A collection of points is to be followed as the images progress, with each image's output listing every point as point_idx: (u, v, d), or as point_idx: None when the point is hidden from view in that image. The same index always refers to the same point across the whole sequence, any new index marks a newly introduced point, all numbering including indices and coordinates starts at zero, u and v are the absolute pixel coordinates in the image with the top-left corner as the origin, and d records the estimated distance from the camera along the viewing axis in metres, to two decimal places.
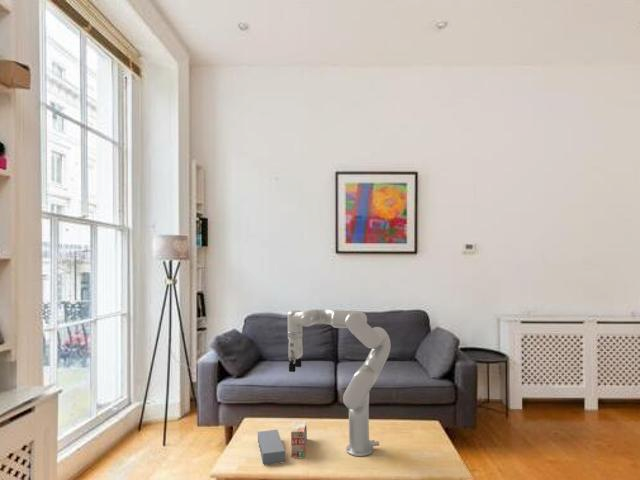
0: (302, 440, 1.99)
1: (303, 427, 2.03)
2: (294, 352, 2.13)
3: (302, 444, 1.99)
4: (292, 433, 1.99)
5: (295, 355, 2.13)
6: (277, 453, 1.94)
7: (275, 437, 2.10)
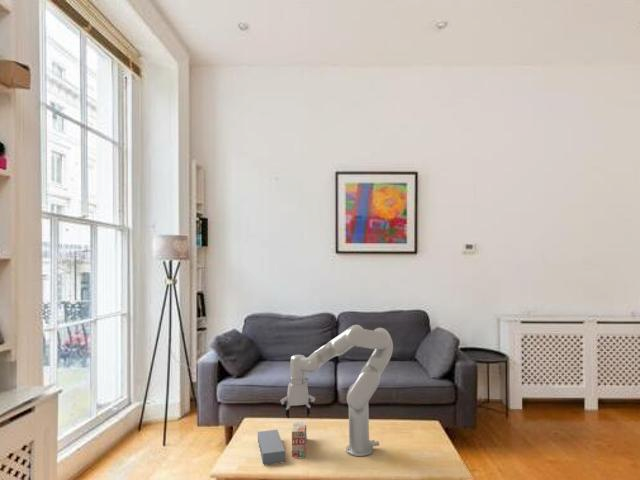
0: (303, 440, 1.99)
1: (303, 427, 2.04)
2: None
3: (303, 444, 1.99)
4: (293, 433, 1.99)
5: None
6: (277, 453, 1.94)
7: (275, 437, 2.10)
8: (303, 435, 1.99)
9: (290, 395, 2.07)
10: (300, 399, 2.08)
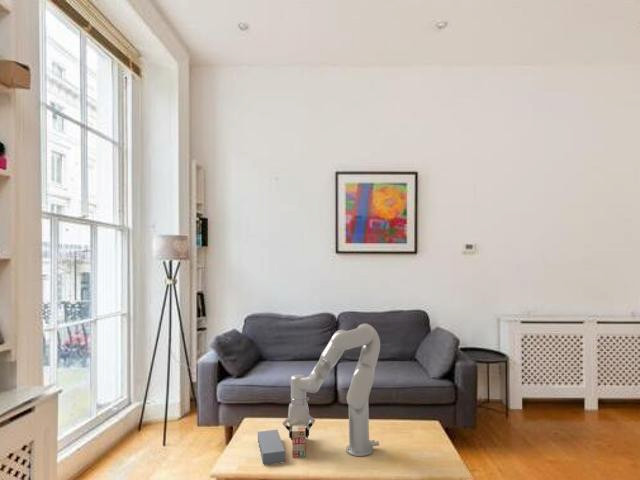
0: (303, 439, 1.99)
1: (304, 426, 2.04)
2: None
3: (303, 443, 1.99)
4: (293, 432, 1.99)
5: None
6: (277, 453, 1.94)
7: (275, 437, 2.10)
8: (303, 434, 1.99)
9: (291, 416, 2.07)
10: (301, 419, 2.08)
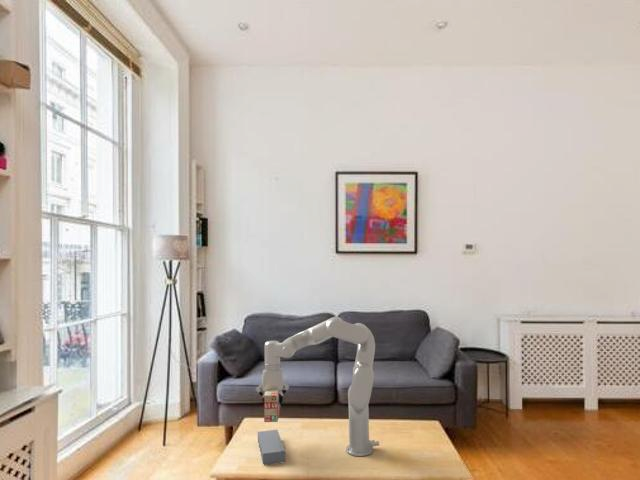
0: (275, 404, 1.97)
1: (276, 392, 2.02)
2: None
3: (275, 408, 1.97)
4: (265, 397, 1.97)
5: None
6: (277, 453, 1.94)
7: (275, 437, 2.10)
8: (276, 399, 1.98)
9: (264, 381, 2.05)
10: (274, 385, 2.06)
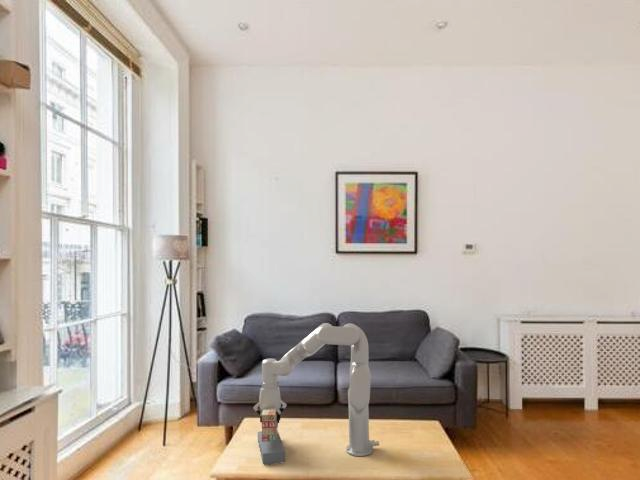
0: (273, 423, 1.97)
1: (274, 410, 2.01)
2: None
3: (273, 427, 1.97)
4: (263, 416, 1.97)
5: None
6: (277, 453, 1.94)
7: None
8: (273, 418, 1.97)
9: (262, 400, 2.04)
10: (272, 404, 2.05)
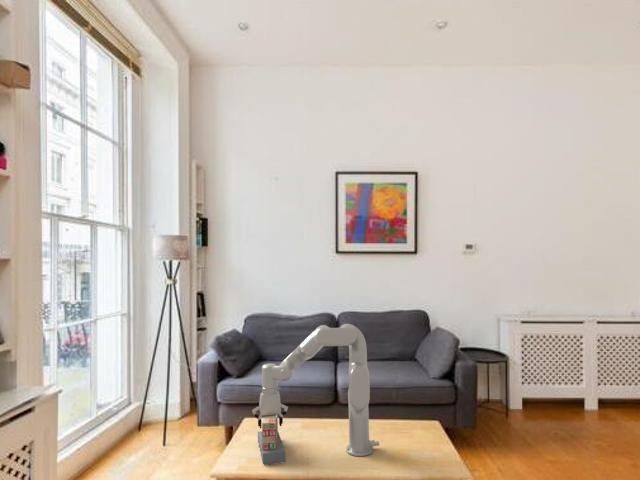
0: (273, 431, 1.97)
1: (274, 418, 2.01)
2: None
3: (273, 435, 1.96)
4: (263, 425, 1.96)
5: None
6: (277, 453, 1.94)
7: None
8: (274, 427, 1.97)
9: (262, 405, 2.04)
10: (272, 409, 2.05)
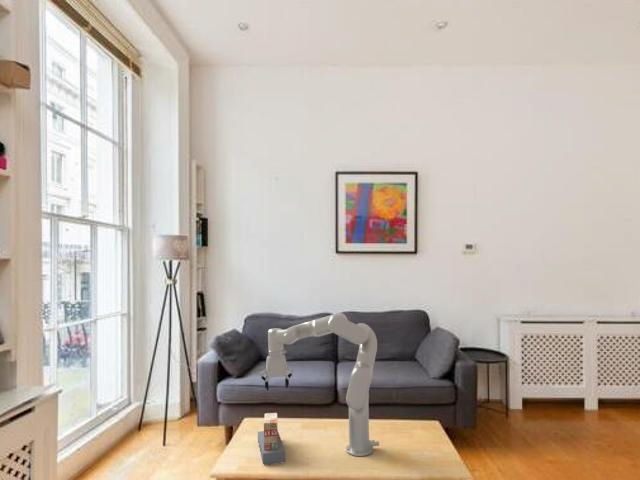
0: (275, 431, 1.97)
1: (275, 418, 2.01)
2: None
3: (275, 435, 1.97)
4: (265, 425, 1.96)
5: None
6: (277, 453, 1.94)
7: None
8: (275, 426, 1.97)
9: (269, 367, 2.11)
10: (279, 371, 2.12)
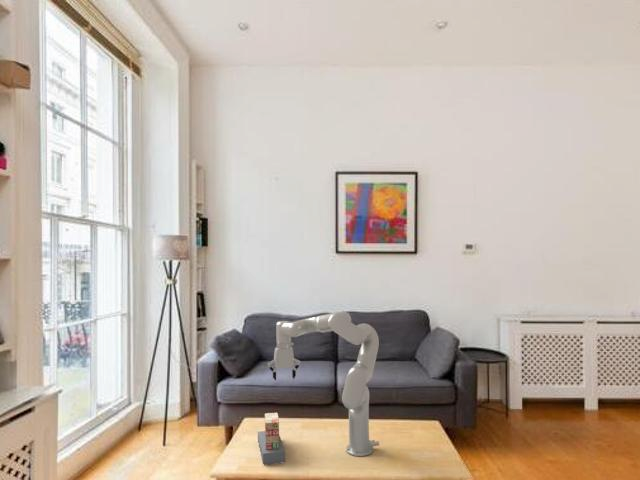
0: (277, 431, 1.97)
1: (277, 418, 2.02)
2: None
3: (277, 435, 1.97)
4: (266, 424, 1.97)
5: None
6: (277, 453, 1.94)
7: None
8: (277, 426, 1.97)
9: (276, 358, 2.20)
10: (286, 362, 2.20)
